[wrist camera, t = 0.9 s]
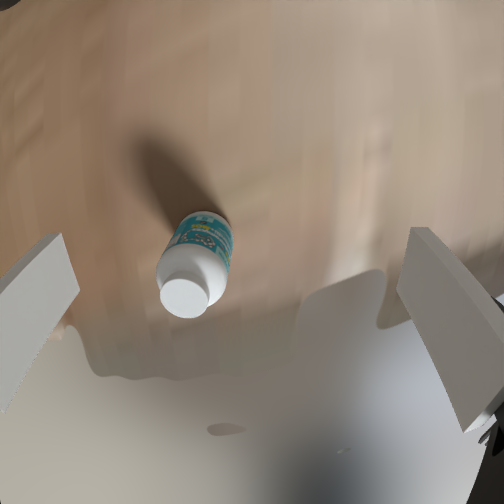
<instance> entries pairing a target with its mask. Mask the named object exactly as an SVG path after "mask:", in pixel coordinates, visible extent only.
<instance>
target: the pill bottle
mask: <svg viewBox="0 0 504 504" xmlns="http://www.w3.org/2000/svg"><path fill="white" fill-rule="evenodd" d="M233 243H234V236H233V232H232V229H231V227H230V225H229V224H228V223H227V221H226V220H225V219H224V218H222V217H221V216H219V215H217V214H215V213H212V212H208V211H199V212H195V213H192V214H190V215H188V216H187V217H186V218H184V219H183V220H182V222H181V223H180V225H179V226H178V228H177V230H176V231H175V233H174V235H173V237H172V238H171V240H170V242H169V244H168V245H167V247H166V249H165V251H164V253H163V254H162V256H161V258H160V260H159V262H158V265H157V268H156V280H157V284H158V286H159V288H160V299H161V302H162V304H163V306H164V307H165V308H166V309H167V310H168V311H169V312H171V313H172V314H174V315H176V316H178V317H182V318H193V317H197V316H199V315H201V314H202V313H203V312H204V311H205V310H206V308H207V306H210V305H212V304H213V303H215V302H216V301H217V300H218V299H219V298H220V297H221V296H222V294H223V292H224V290H225V287H226V282H227V277H228V271H229V266H230V260H231V254H232V249H233Z"/></svg>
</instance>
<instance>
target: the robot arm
mask: <svg viewBox="0 0 504 504" xmlns="http://www.w3.org/2000/svg"><path fill="white" fill-rule="evenodd" d="M19 1H20V0H0V11H3V10H6V9H8V8H10V7H12V6H13V5H15V4H16V3H18V2H19ZM79 291H80V288H79V286H78V283H77V280H76V277H75V274H74V272H73V269H72V266H71V263H70V260H69V257H68V253H67V250H66V247H65V244H64V240H63V237H62V234H61V233H49V234H47V235H46V236H44V237H43V238H42V239H41V240H40V241H39V242H38V243H37V244H36V245H34V246H33V247H32V248H31V249H30V250H29V251H28V252H27V253H26V254H25V255H24V256H23V257H22V258H21V259H20V260H19V261H18V262H17V263H16V264H15V265H14V266H12V267H11V268H10V269H9V270H8V272H7V273H6V274H5V275H4V276H3V277H2V278H1V279H0V411H2V412H4V413H5V412H6V410H7V408H8V407H9V405H10V402H11V401H12V399H13V397H14V395H15V393H16V391H17V389H18V388H19V386H20V384H21V382H22V380H23V379H24V377H25V375H26V373H27V371H28V370H29V368H30V366H31V365H32V363H33V361H34V360H35V358H36V356H37V355H38V353H39V351H40V350H41V348H42V347H43V345H44V343H45V342H46V340H47V339H48V337H49V336H50V334H51V332H52V331H53V329H54V328H55V326H56V325H57V323H58V322H59V320H60V319H61V317H62V316H63V314H64V313H65V311H66V310H67V308H68V307H69V306H70V304H71V303H72V301H73V300H74V298H75V297H76V296H77V294H78V293H79ZM396 291H397V293H398V294H399V296H400V298H401V300H402V302H403V304H404V305H405V307H406V309H407V311H408V313H409V315H410V317H411V319H412V320H413V322H414V324H415V326H416V328H417V330H418V332H419V334H420V336H421V338H422V340H423V342H424V344H425V346H426V348H427V350H428V352H429V354H430V356H431V358H432V361H433V363H434V365H435V367H436V369H437V371H438V373H439V376H440V378H441V380H442V382H443V385H444V387H445V389H446V392H447V394H448V396H449V398H450V401H451V403H452V406H453V408H454V411H455V413H456V416H457V418H458V421H459V423H460V426H461V428H462V431H463V433H464V432H467V431H470V430H473V429H475V428H478V427H481V426H483V425H484V424H485V423H486V422H487V421H488V419H489V418H490V417H491V416H492V415H493V414H495V417H496V419H497V421H496V422H495V423H494V424H493V425H492V426H491V427H490V428H489V429H488V431H486V433H484V434H483V436H482V437H481V438H480V440H479V442H478V443H480V444H481V443H482V442H483V441H484V440H485V439H486V438H487V437H488V436H489V435H490V436H489V440H488V441H487V443H486V444H485V446H487V447H486V450H485V454H484V457H483V460H482V463H481V466H480V469H479V472H478V475H477V478H476V480H475V483H474V486H473V488H472V491H471V493H470V496H469V499H468V501H467V503H466V504H504V306H503V305H502V304H501V303H500V302H498V301H497V300H496V299H494V298H493V297H492V296H490V295H489V294H488V293H487V292H486V290H485V289H484V288H483V287H482V286H481V284H480V283H479V282H478V281H477V280H476V278H475V277H474V276H473V275H472V274H471V273H470V271H469V270H468V269H467V268H466V267H465V266H464V265H463V264H462V262H461V261H460V260H459V259H458V258H457V257H456V256H455V255H454V254H453V253H452V252H451V250H450V249H449V248H448V247H447V246H446V245H445V244H444V243H443V242H442V241H441V240H440V239H439V238H438V237H437V236H436V235H435V234H434V233H433V232H432V231H431V230H430V229H429V228H428V227H411V229H410V234H409V239H408V244H407V248H406V252H405V257H404V261H403V265H402V269H401V273H400V277H399V280H398V284H397V288H396ZM0 504H1V502H0Z"/></svg>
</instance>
